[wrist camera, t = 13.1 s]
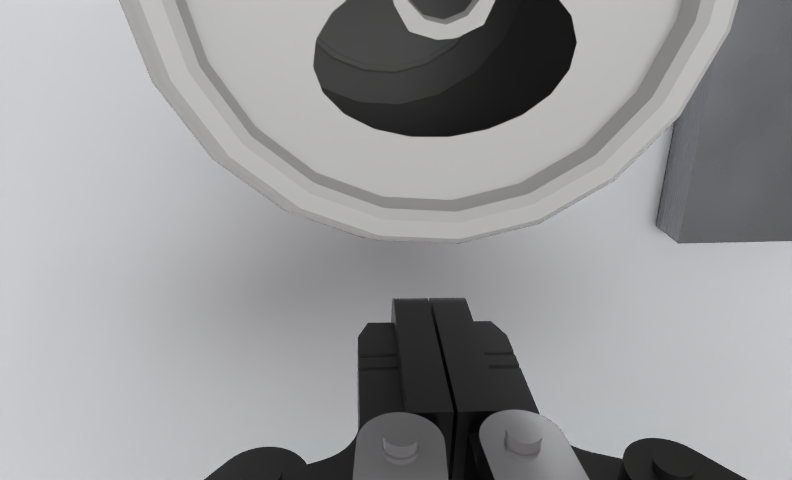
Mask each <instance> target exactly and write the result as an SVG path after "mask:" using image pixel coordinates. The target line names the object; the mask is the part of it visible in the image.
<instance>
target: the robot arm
mask: <svg viewBox="0 0 792 480" xmlns="http://www.w3.org/2000/svg"><path fill="white" fill-rule="evenodd" d="M204 480H747V479H745V478H743V477H741V476H740V475H738V474H736V473H734V472H732V471H731V470H729V469H727V468H725V467H723V466H722V465H720V464H718V463H716V462H714V461H713V460H711V459H709V458H707V457H705V456H704V455H702V454H700V453H698V452H697V451H695V450H693V449H691V448H689V447H687V446H685V445H682V444H680V443H677V442H674V441H670V440H666V439H660V438H646V439H641V440H638V441H635V442H633V443H632V444H630V445H629V446H628V447H627V448H626V450H625V452H624V455H623V459H620V458H615V457H611V456H606V455H601V454H597V453H592V452H588V451H585V450H581V449H579V448H576V447H574V446H571V445H570V444H569V442H568V440H567V438H566V437H565V435H564V433H563V432H562V431H561V429H560V428H559V427H558V426H557V425H556V424H554V423H553V422H552V421H550V420H549V419H547V418H545V417H543V416H541V415H540V414H539V412H538V409H537V407H536V404H535V402H534V400H533V397H532V395H531V392H530V390H529V388H528V385H527V383H526V380H525V378H524V376H523V373H522V371H521V368H519V364H518V361H517V359H516V356H515V355H514V354H513V349H512V347H511V344H510V342H509V340H508V337H507V335H506V334H505V333H504V332H502V331H501V330H500V329H499V328H498V327H497V326H496V325H494V324H493V323H492V322H491V321H475V322H473V319H472V316H471V313H470V310H469V307H468V304H467V302H466V299H465V298H430V299H429V301H428V299H427V298H418V299H393V300H392V315H391V323H368V324H367V325H366V326H365V328H364V329H363V331H362V332H361V334H360V335H359V337H358V433H357V435H356V437H355V439H354V440H353V441H352V443H351V444H350V445H349V446H348V447H347V448H345V449H344V450H343V451H341V452H340V453H338V454H336V455H334V456H332V457H330V458H327V459H324V460H321V461H318V462H315V463H311V464H308V465H307V464H306V462H305V461H304V460H303V459H302V458H301V457H300V456H299V455H297V454H296V453H294V452H292V451H290V450H287V449H283V448H278V447H261V448H255V449H251V450H248V451H245V452H242V453H240V454H238V455H236V456H235V457H233V458H232V459H230V460H229V461H227V462H226V463H225V464H223V465H222V466H221V467H220V468H218V469H217V470H216V471H214V472H213V473H212V474H211V475H209V476H208V477H207V478H206V479H204Z"/></svg>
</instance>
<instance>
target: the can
mask: <svg viewBox="0 0 792 480" xmlns="http://www.w3.org/2000/svg"><path fill="white" fill-rule="evenodd" d="M119 1H120V4H121V6H122V9H123V11H124V14H125V16H126V18H127V21H128V23H129V26H130V28H131V31H132V33H133V36H134V38H135V41H136V43H137V46H138V48H139V51H140V53H141V55H142V58H143V60H144V63H145V65H146V68H147V70H148V73H149V75H150V78H151V80H152V83H153V84H154V85H155V86H156V88H157V89H158V90H159V92H160V93H161V94H162V95H163V97H164V98H165V99H166V100H167V102H168V103H169V104H170V106H171V107H172V108H173V109H174V111H175V112H176V113H177V114H178V116H179V117H180V118H181V120H182V121H183V122H184V123H185V125H186V126H187V127H188V128H189V130H190V131H191V132H192V134H193V135H194V136H195V137H196V139H197V140H198V141H199V142H200V144H201V145H202V146H203V148H204V149H205V150H206V151H207V153H208V154H209V155H210V156H211V158H212V159H213V160H215V161H216V162H218V163H219V164H220V165H222V166H223V167H225V168H226V169H227V170H229V171H230V172H232V173H233V174H234V175H236V176H237V177H239V178H240V179H241V180H243V181H244V182H246V183H247V184H248V185H250V186H251V187H252V188H254V189H255V190H257V191H258V192H259V193H261V194H262V195H264V196H265V197H266V198H268V199H269V200H271V201H272V202H273V203H275V204H276V205H278V206H279V207H280V208H282V209H283V210H285V211H288V212H291V213H294V214H296V215H299V216H302V217H305V218H308V219H311V220H314V221H317V222H320V223H322V224H325V225H328V226H331V227H334V228H337V229H340V230H343V231H346V232H348V233H351V234H354V235H357V236H360V237H363V238H372V239H375V240H388V241H411V242H434V243H457V244H459V243H463V242H467V241H471V240H475V239H479V238H483V237H487V236H491V235H495V234H499V233H503V232H507V231H511V230H516V229H520V228H524V227H528V226H532V225H536V224H539V223H541V222H543V221H545V220H546V219H548V218H550V217H552V216H553V215H555V214H557V213H559V212H560V211H562V210H564V209H566V208H568V207H569V206H571V205H573V204H575V203H576V202H578V201H580V200H582V199H583V198H585V197H587V196H589V195H590V194H592V193H594V192H596V191H597V190H599V189H601V188H603V187H605V186H606V185H608V184H610V183H612V182H613V181H615V180H616V179H617V178H618V177H619V176H620V175H621V174H622V173H623V172H624V171H625V170H626V169H627V168H628V167H629V166H630V165H631V164H632V163H633V162H634V161H635V160H636V159H637V158H638V157H639V156H640V155H641V154H642V153H643V152H644V151H645V150H646V149H647V148H648V147H649V146H650V145H651V144H652V143H653V142H654V141H655V140H656V139H657V138H658V137H659V136H660V135H661V134H662V133H663V132H664V131H665V130H666V129H667V128H668V127H669V126H670V125H671V124H672V123H673V122H674V121H675V120H676V119H677V118H678V117H679V116H680V115H681V113H682V111H683V110H684V108H685V106H686V104H687V103H688V101H689V99H690V98H691V96H692V94H693V93H694V91H695V89H696V88H697V86H698V84H699V82H700V81H701V79H702V77H703V76H704V74H705V72H706V71H707V69H708V67H709V66H710V64H711V62H712V60H713V59H714V57H715V55H716V54H717V52H718V50H719V49H720V47H721V45H722V44H723V42H724V40H725V38H726V37H727V35H728V33H729V32H730V29H731V26H732V22H733V19H734V15H735V12H736V8H737V5H738V1H739V0H119Z"/></svg>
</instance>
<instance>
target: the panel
mask: <svg viewBox="0 0 792 480" xmlns="http://www.w3.org/2000/svg"><path fill="white" fill-rule="evenodd" d="M656 226H657V227H659V228H660V229H661V230H662V231H663V232H665V233H666V234H667V235H668V236H670V237H671V238H672V239H673V240H674V241H676V242H677V243H718V242H763V241H792V0H739V1H738V5H737V8H736V12H735V15H734V19H733V22H732V26H731V29H730V32H729V33H728V35H727V37H726V38H725V40H724V42H723V44H722V45H721V47H720V49H719V50H718V52H717V54H716V55H715V57H714V59H713V60H712V62H711V64H710V66H709V67H708V69H707V71H706V72H705V74H704V76H703V77H702V79H701V81H700V82H699V84H698V86H697V88H696V89H695V91H694V93H693V94H692V96H691V98H690V99H689V101H688V103H687V104H686V106H685V108H684V110H683V111H682V113H681V115H680V116H679V117H678V118H677V119H676V121H675V126H674V131H673V137H672V142H671V147H670V153H669V158H668V164H667V169H666V174H665V180H664V185H663V191H662V196H661V201H660V207H659V212H658V217H657V223H656Z"/></svg>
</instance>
